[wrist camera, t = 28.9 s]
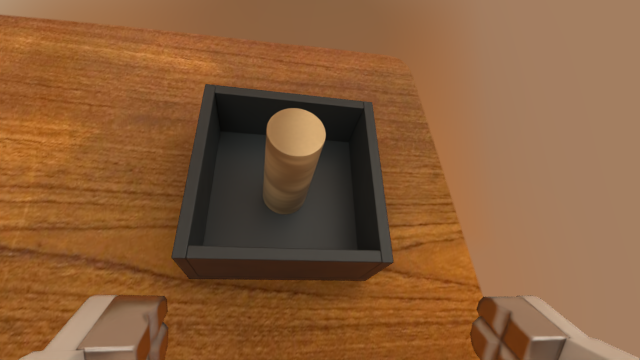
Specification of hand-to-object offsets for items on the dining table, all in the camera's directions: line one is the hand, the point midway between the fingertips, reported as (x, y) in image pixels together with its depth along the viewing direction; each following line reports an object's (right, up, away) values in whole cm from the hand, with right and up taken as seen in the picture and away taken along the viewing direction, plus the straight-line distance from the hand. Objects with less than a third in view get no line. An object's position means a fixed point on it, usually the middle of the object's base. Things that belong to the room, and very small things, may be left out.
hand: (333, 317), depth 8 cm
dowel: (-3, +2, +19) cm, 19 cm away
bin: (-3, +2, +20) cm, 20 cm away
